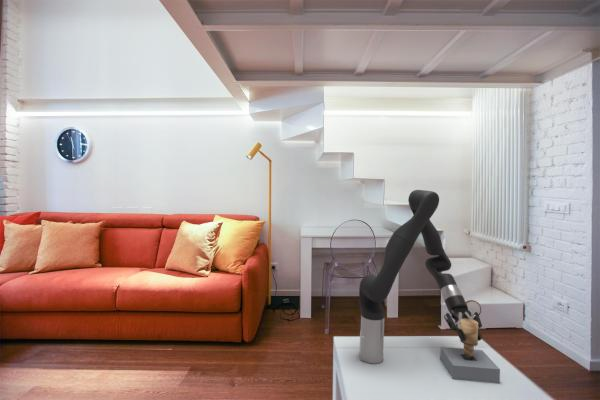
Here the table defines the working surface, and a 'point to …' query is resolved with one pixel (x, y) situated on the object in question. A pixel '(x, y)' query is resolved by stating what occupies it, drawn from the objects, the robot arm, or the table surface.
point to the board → (469, 365)
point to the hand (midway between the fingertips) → (472, 340)
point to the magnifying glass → (473, 306)
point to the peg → (469, 335)
